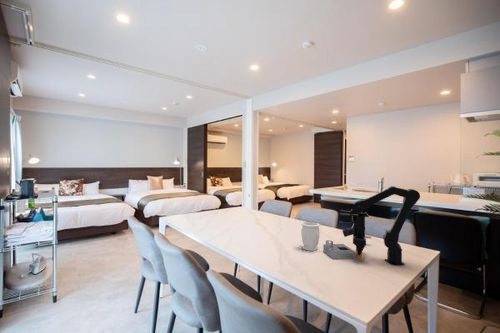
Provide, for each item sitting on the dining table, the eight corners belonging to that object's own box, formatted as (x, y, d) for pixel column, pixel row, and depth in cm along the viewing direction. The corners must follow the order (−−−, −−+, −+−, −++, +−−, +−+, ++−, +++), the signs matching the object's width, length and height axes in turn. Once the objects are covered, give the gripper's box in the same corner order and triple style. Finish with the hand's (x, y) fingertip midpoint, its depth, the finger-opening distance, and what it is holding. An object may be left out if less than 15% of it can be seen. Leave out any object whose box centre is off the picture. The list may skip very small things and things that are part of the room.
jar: (306, 252, 137) (306, 226, 137) (298, 246, 147) (298, 222, 147) (322, 250, 139) (323, 225, 140) (313, 245, 149) (313, 221, 150)
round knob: (364, 258, 129) (364, 243, 129) (357, 258, 128) (357, 243, 128) (360, 255, 133) (360, 241, 133) (353, 255, 132) (353, 241, 132)
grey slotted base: (354, 258, 128) (354, 246, 128) (332, 259, 127) (332, 246, 127) (343, 250, 140) (343, 239, 140) (323, 251, 139) (323, 240, 139)
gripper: (344, 219, 142) (344, 245, 142) (342, 226, 125) (342, 256, 125) (364, 221, 138) (364, 248, 138) (366, 228, 121) (366, 259, 121)
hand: (359, 252), depth 130 cm, fingers open, 7 cm apart
